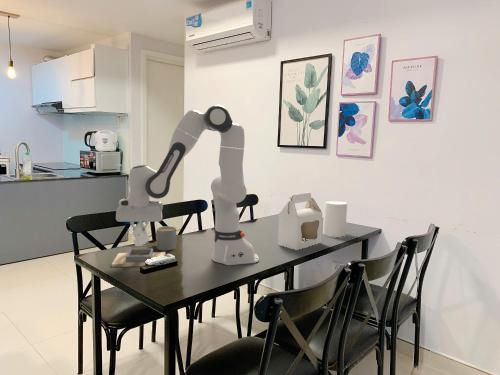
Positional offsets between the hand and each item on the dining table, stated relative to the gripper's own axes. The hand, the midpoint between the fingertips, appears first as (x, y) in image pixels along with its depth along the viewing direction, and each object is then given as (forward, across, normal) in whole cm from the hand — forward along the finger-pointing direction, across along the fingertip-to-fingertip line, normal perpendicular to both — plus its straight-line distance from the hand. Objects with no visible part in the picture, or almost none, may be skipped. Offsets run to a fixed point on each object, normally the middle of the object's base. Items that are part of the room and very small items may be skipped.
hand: (139, 230), depth 172 cm
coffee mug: (+14, -10, -21) cm, 27 cm away
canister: (+13, -110, -40) cm, 118 cm away
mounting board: (+14, 0, 0) cm, 14 cm away
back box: (+13, 0, 0) cm, 13 cm away
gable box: (+14, -83, -21) cm, 87 cm away
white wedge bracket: (+6, -2, 0) cm, 6 cm away
